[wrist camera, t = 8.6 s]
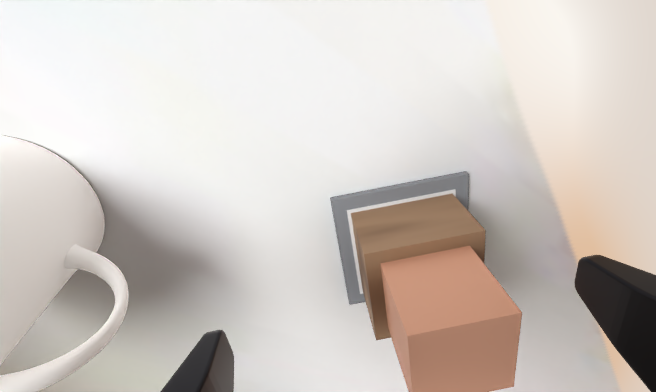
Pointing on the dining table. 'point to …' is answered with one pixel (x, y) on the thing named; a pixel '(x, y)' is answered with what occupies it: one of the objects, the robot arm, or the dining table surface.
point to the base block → (408, 242)
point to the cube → (451, 322)
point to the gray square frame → (382, 198)
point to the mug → (47, 254)
